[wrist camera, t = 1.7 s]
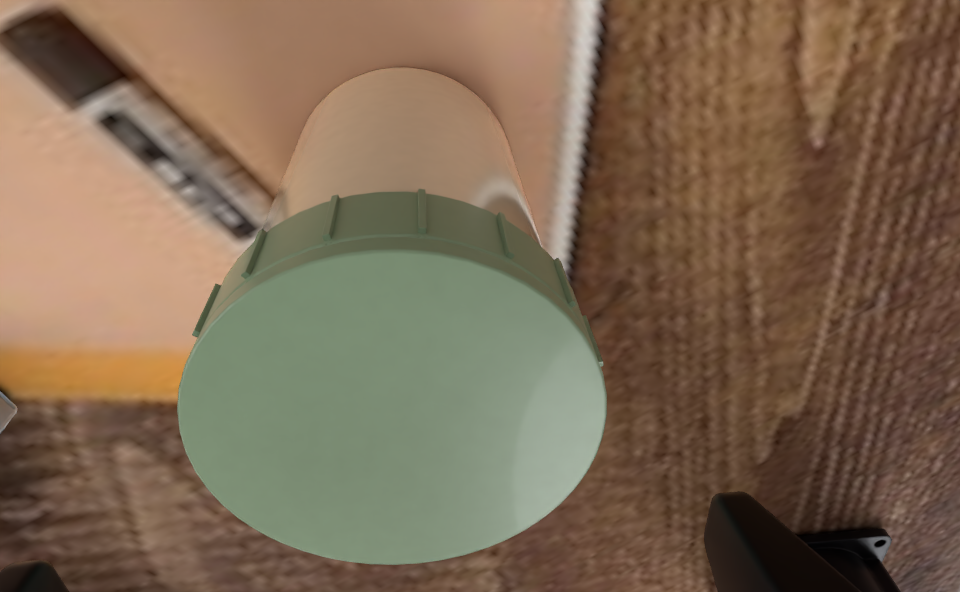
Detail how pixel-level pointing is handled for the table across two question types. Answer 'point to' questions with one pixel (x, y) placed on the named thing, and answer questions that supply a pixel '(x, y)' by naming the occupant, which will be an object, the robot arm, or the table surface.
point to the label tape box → (6, 411)
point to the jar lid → (392, 381)
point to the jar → (403, 147)
